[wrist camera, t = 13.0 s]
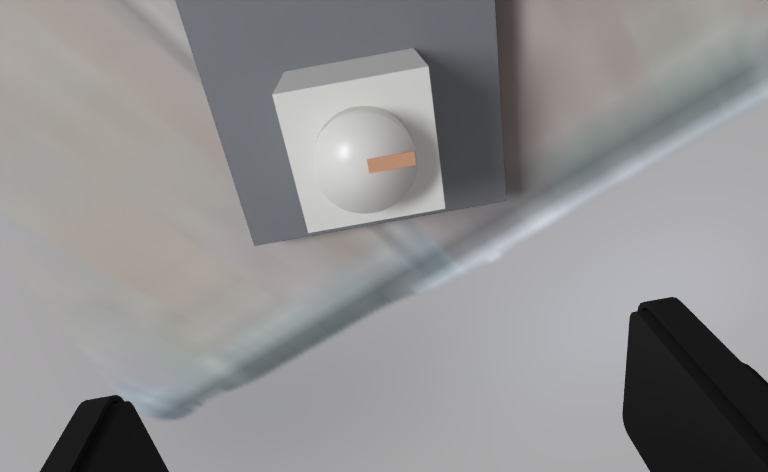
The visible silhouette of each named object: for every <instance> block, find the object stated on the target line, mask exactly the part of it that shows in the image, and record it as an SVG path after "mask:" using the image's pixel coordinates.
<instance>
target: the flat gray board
mask: <svg viewBox="0 0 768 472" xmlns="http://www.w3.org/2000/svg"><path fill="white" fill-rule="evenodd" d="M175 1H176V4H177V7H178V10H179V13H180V16H181V19H182V22H183V26H184V29H185V32H186V35H187V38H188V41H189V44H190V47H191V50H192V53H193V57H194V60H195V63H196V66H197V69H198V72H199V75H200V78H201V81H202V84H203V88H204V91H205V94H206V97H207V100H208V103H209V106H210V109H211V112H212V116H213V119H214V122H215V125H216V128H217V131H218V134H219V137H220V140H221V143H222V147H223V150H224V153H225V156H226V159H227V162H228V165H229V168H230V171H231V174H232V178H233V181H234V184H235V187H236V190H237V193H238V196H239V199H240V202H241V206H242V209H243V212H244V215H245V218H246V221H247V224H248V227H249V230H250V233H251V237H252V240H253V243H254V246H257V245H262V244H268V243H274V242H279V241H285V240H290V239H296V238H301V237H307V236H313V235H318V234H324V233H329V232H335V231H341V230H346V229H352V228H357V227H363V226H368V225H374V224H380V223H385V222H391V221H396V220H402V219H408V218H413V217H419V216H424V215H430V214H435V213H441V212H447V211H452V210H458V209H463V208H469V207H474V206H480V205H486V204H491V203H497V202H502V201H506V184H505V167H504V150H503V133H502V116H501V99H500V82H499V65H498V48H497V31H496V14H495V0H175ZM412 48H414V49H415V51H416V52H417V53H418V54H419V55H420V57H421V58H422V59H423V60H424V61H425V63H426V64H427V65H428V66H429V74H430V83H431V91H432V100H433V108H434V117H435V125H436V134H437V142H438V150H439V159H440V167H441V176H442V184H443V193H444V201H445V209H441V210H436V211H430V212H424V213H419V214H413V215H408V216H402V217H396V218H391V219H385V220H379V221H374V222H368V223H363V224H357V225H351V226H346V227H340V228H335V229H329V230H323V231H318V232H312V233H308V230H307V226H306V223H305V219H304V215H303V211H302V207H301V203H300V200H299V196H298V192H297V188H296V184H295V180H294V177H293V173H292V169H291V165H290V161H289V158H288V154H287V150H286V146H285V142H284V138H283V135H282V131H281V127H280V123H279V119H278V115H277V112H276V108H275V104H274V100H273V96H272V94H273V92H274V90H275V88H276V86H277V85H278V83H279V81H280V79H281V77H282V75H283V73H284V72H285V71H291V70H296V69H302V68H307V67H313V66H318V65H324V64H329V63H335V62H340V61H346V60H351V59H357V58H362V57H368V56H373V55H379V54H384V53H390V52H395V51H401V50H406V49H412Z"/></svg>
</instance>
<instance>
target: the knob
mask: <svg viewBox="0 0 768 472" xmlns="http://www.w3.org/2000/svg"><path fill="white" fill-rule="evenodd" d="M272 96H273V100H274V104H275V108H276V112H277V115H278V119H279V123H280V127H281V131H282V135H283V138H284V142H285V146H286V150H287V154H288V158H289V161H290V165H291V169H292V173H293V177H294V180H295V184H296V188H297V192H298V196H299V200H300V203H301V207H302V211H303V215H304V219H305V223H306V226H307V230H308V233H312V232H318V231H323V230H329V229H335V228H340V227H346V226H351V225H357V224H363V223H368V222H374V221H379V220H385V219H391V218H396V217H402V216H408V215H413V214H419V213H424V212H430V211H436V210H441V209H445V201H444V193H443V184H442V176H441V167H440V159H439V150H438V142H437V134H436V125H435V117H434V108H433V100H432V91H431V83H430V74H429V66H428V65H427V64H426V63H425V61H424V60H423V59H422V58H421V57H420V55H419V54H418V53H417V52H416V51H415V49H414V48H412V49H406V50H401V51H395V52H390V53H384V54H379V55H373V56H368V57H362V58H357V59H351V60H346V61H340V62H335V63H329V64H324V65H318V66H313V67H307V68H302V69H296V70H291V71H285V72H284V73H283V75H282V77H281V79H280V81H279V83H278V85H277V86H276V88H275V90H274V92H273V94H272Z"/></svg>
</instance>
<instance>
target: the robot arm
mask: <svg viewBox="0 0 768 472" xmlns="http://www.w3.org/2000/svg"><path fill="white" fill-rule="evenodd" d="M623 422H624V426H625V429H626V431H627V433H628V435H629V437H630V439H631V441H632V442H633V444H634V445H635V447H636V449H637V450H638V452H639V454H640V455H641V457H642V459H643V460H644V462H645V464H646V465H647V467H648V469H649V470H650V472H768V383H767V382H766V381H765V380H764V379H763V378H762V377H761V376H760V375H759V374H758V373H757V372H756V371H755V370H754V369H752V368H751V367H750V366H749V365H747V364H745V363H742V362H741V361H740V360H739V359H738V358H737V357H736V356H735V355H734V354H733V353H732V352H731V351H730V350H729V349H728V348H727V347H726V346H725V345H724V344H723V343H722V342H721V341H720V340H719V339H718V338H717V337H716V336H715V335H714V334H713V333H712V332H711V331H710V330H709V329H708V328H707V327H706V326H705V325H704V324H703V323H702V322H701V321H700V320H699V319H698V318H697V317H696V316H695V315H694V314H693V313H692V312H691V311H690V310H689V309H688V308H687V307H686V306H685V305H684V304H683V303H682V302H681V301H680V300H678V299H677V298H674V297H670V298H664V299H658V300H653V301H647V302H643V303H640V305H639V307H638V311H637V312H633V313H631V315H630V321H629V335H628V348H627V361H626V375H625V388H624V402H623ZM40 472H169V471H168V469H167V467H166V465H165V464H164V462H163V460H162V458H161V456H160V454H159V453H158V451H157V449H156V447H155V445H154V443H153V441H152V439H151V438H150V436H149V434H148V432H147V430H146V428H145V426H144V425H143V423H142V421H141V419H140V417H139V415H138V413H137V411H136V410H135V408H134V406H133V405H132V403H131V402H129V401H125V402H124V400H123V399H122V398H121V397H120V396H118V395H113V396H108V397H102V398H97V399H91V400H86V401H84V402H82V403H81V404H80V405H79V407H78V408H77V410H76V411H75V413H74V415H73V416H72V418H71V420H70V421H69V423H68V425H67V427H66V428H65V430H64V432H63V433H62V435H61V437H60V438H59V440H58V442H57V443H56V445H55V447H54V449H53V450H52V452H51V454H50V455H49V457H48V459H47V460H46V462H45V464H44V466H43V467H42V469H41V471H40Z"/></svg>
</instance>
